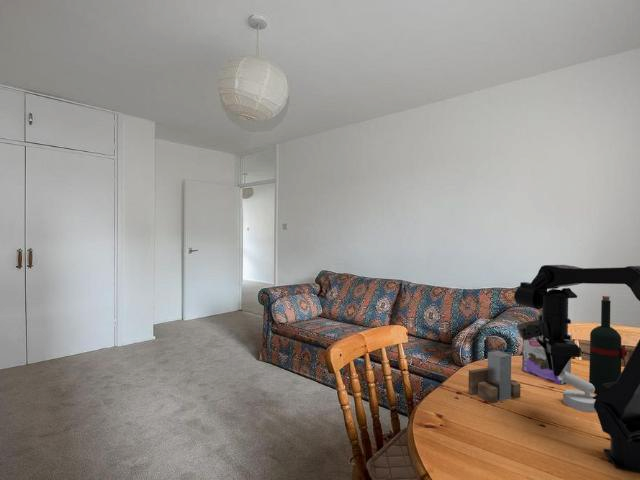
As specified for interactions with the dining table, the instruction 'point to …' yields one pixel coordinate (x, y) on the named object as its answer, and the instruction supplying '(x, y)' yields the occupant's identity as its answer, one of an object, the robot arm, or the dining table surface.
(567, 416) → the dining table surface
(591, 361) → the wine bottle
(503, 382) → the grey square pillar
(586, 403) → the wall hook
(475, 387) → the bench
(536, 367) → the candy box
